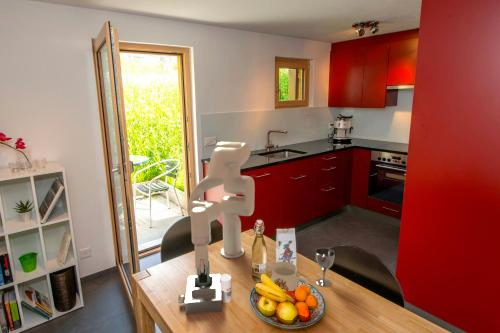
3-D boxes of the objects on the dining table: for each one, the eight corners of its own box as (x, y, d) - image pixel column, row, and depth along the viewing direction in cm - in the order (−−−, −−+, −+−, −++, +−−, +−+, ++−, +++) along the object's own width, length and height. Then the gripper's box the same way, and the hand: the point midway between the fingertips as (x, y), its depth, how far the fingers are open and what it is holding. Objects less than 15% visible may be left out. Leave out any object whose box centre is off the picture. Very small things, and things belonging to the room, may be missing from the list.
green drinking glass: (197, 278, 130) (196, 257, 128) (210, 278, 131) (209, 257, 129) (197, 286, 125) (195, 264, 123) (210, 285, 126) (209, 263, 124)
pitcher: (304, 311, 121) (305, 279, 118) (261, 299, 128) (261, 270, 125) (310, 294, 131) (311, 265, 128) (270, 284, 138) (270, 256, 135)
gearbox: (182, 286, 137) (181, 271, 136) (220, 283, 139) (220, 268, 137) (177, 314, 120) (176, 297, 118) (221, 311, 122) (221, 294, 120)
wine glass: (334, 287, 136) (336, 256, 132) (316, 287, 136) (318, 256, 132) (330, 277, 143) (331, 247, 140) (313, 277, 143) (314, 247, 140)
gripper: (193, 229, 131) (195, 267, 135) (190, 248, 115) (193, 291, 119) (211, 228, 132) (212, 266, 136) (210, 247, 116) (212, 290, 120)
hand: (203, 277), depth 128 cm, fingers closed on green drinking glass, 5 cm apart
